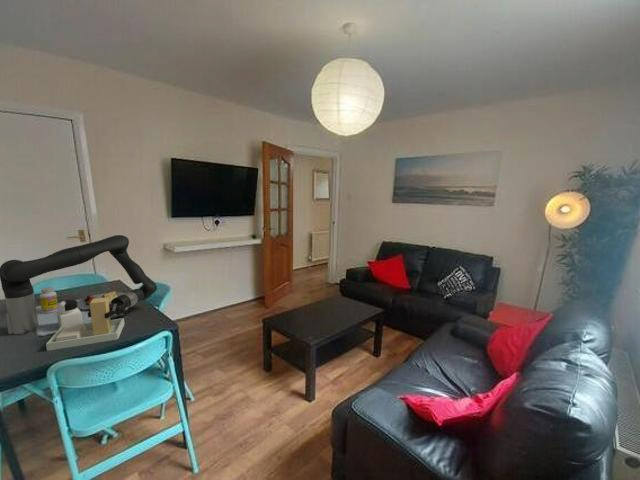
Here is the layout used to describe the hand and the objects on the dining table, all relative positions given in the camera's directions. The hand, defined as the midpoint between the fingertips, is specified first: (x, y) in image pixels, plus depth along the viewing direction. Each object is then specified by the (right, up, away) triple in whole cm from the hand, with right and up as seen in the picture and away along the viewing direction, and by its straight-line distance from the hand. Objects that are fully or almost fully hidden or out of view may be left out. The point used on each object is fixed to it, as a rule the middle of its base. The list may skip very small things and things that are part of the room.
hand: (96, 315), depth 128 cm
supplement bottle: (-47, -5, +28) cm, 55 cm away
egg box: (-10, -10, -1) cm, 14 cm away
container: (-21, -9, +12) cm, 26 cm away
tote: (-5, -10, +2) cm, 12 cm away
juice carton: (0, -8, +4) cm, 9 cm away
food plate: (-28, -3, +41) cm, 50 cm away
